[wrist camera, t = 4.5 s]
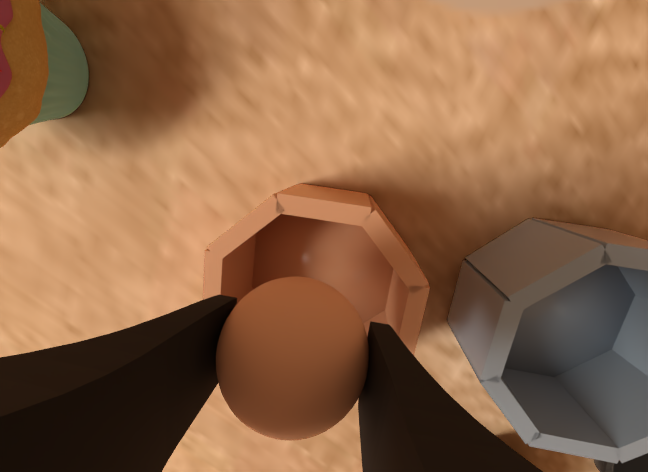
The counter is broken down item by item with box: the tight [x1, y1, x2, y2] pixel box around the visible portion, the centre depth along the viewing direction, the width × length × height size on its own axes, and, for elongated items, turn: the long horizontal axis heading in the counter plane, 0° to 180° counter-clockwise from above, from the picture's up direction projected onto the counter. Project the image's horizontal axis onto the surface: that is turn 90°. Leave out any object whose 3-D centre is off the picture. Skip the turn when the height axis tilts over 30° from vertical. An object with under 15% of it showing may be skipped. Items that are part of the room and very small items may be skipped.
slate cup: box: [447, 218, 648, 464], centre depth 13 cm, size 8×8×4 cm
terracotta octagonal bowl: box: [203, 183, 430, 355], centre depth 14 cm, size 8×8×4 cm
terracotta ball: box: [216, 277, 369, 440], centre depth 9 cm, size 4×4×4 cm
